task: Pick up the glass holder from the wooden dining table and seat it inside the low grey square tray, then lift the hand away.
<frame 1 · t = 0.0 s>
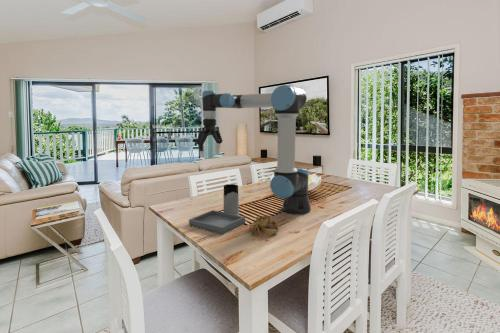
hand: (210, 155, 174), 28 cm above the table, fingers open, 13 cm apart
glass holder: (230, 212, 159), on the table
grey square tray: (217, 224, 141), on the table
crab model: (264, 231, 132), on the table
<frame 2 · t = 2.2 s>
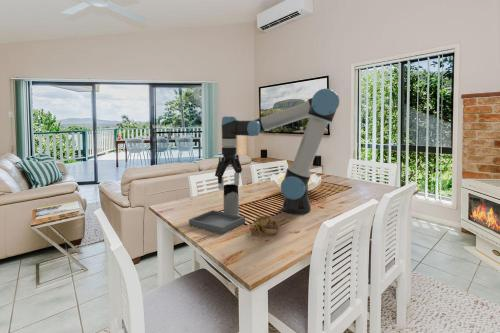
hand: (229, 187, 157), 14 cm above the table, fingers open, 13 cm apart
nothing on the table moved.
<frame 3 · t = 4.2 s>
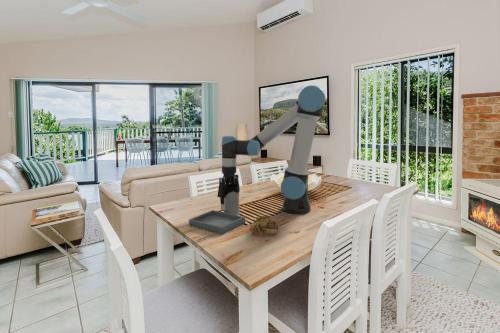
hand: (229, 207, 158), 3 cm above the table, fingers closed on glass holder, 9 cm apart
glass holder: (230, 212, 159), on the table, touching gripper
everything else where it was.
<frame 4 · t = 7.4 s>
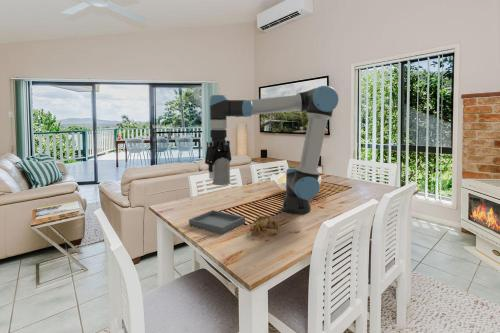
hand: (218, 177, 142), 22 cm above the table, fingers closed on glass holder, 9 cm apart
glass holder: (220, 182, 143), point 19 cm above the table, touching gripper
everything else where it was.
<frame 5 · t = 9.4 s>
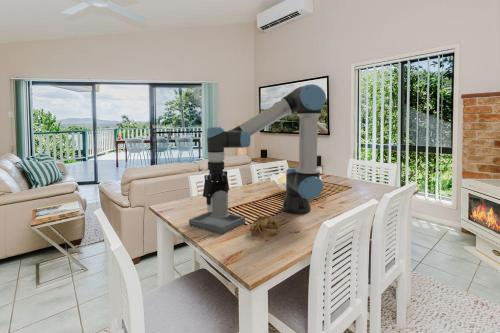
hand: (216, 208, 139), 8 cm above the table, fingers closed on glass holder, 9 cm apart
glass holder: (218, 213, 141), point 5 cm above the table, touching gripper
everything else where it was.
when the fingers open (5 cm above the table, at t = 10.9 s): glass holder drops 1 cm, resting on grey square tray.
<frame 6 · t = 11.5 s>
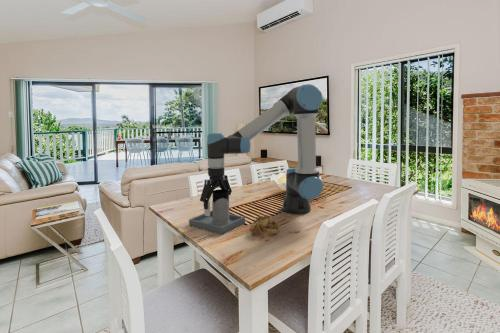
hand: (217, 211, 140), 6 cm above the table, fingers open, 13 cm apart
glass holder: (219, 220, 143), point 1 cm above the table, touching grey square tray
everything else where it was.
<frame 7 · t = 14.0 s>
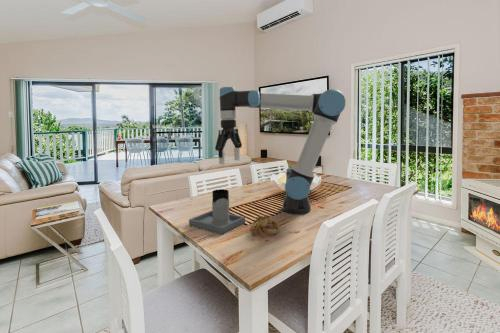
hand: (229, 162, 150), 28 cm above the table, fingers open, 13 cm apart
nothing on the table moved.
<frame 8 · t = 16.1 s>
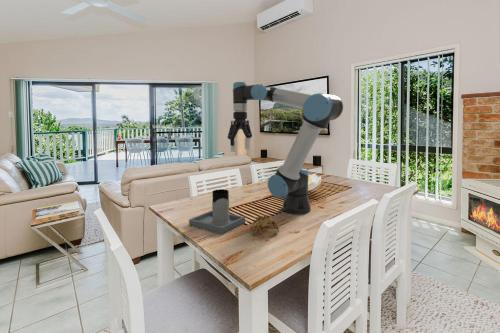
hand: (240, 150, 165), 32 cm above the table, fingers open, 13 cm apart
nothing on the table moved.
at the end: glass holder 3.0 cm off-centre on the grey square tray, point 0.8 cm above the grey square tray's base; glass holder tilted 0°; the gripper is holding nothing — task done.
